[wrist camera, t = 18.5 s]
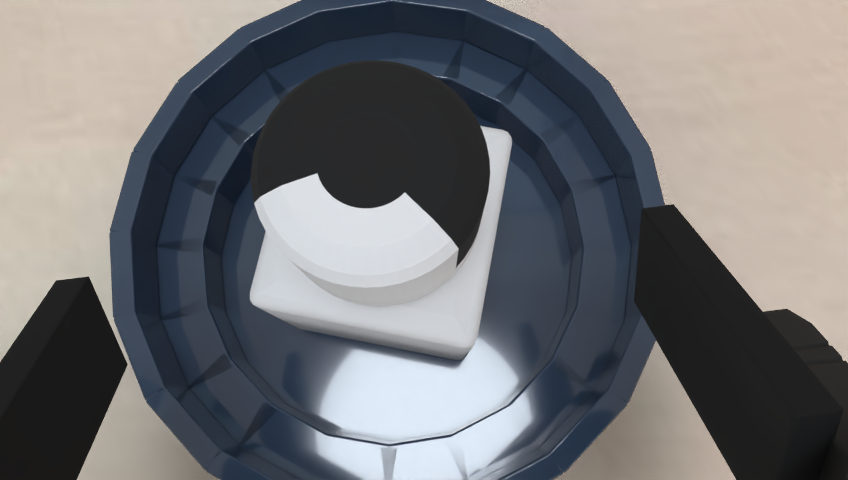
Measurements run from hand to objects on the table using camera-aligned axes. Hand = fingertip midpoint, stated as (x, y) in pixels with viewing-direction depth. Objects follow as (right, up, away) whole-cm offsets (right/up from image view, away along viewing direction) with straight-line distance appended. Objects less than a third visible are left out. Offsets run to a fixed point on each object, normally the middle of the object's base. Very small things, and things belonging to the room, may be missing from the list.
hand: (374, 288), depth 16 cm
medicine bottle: (0, 0, +12) cm, 12 cm away
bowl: (0, 0, +12) cm, 12 cm away
